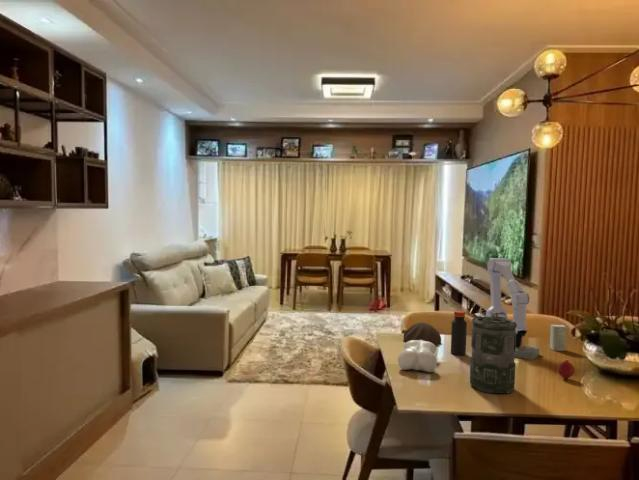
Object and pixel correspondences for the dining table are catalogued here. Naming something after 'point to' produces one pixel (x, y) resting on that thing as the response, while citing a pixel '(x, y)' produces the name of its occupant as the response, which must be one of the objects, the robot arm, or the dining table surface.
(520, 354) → the grey flat block
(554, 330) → the skincare box
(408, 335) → the decorative dome
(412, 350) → the torso sculpture
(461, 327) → the bottle
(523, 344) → the rust peg
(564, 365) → the onion
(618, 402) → the dining table surface
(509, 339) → the canister
